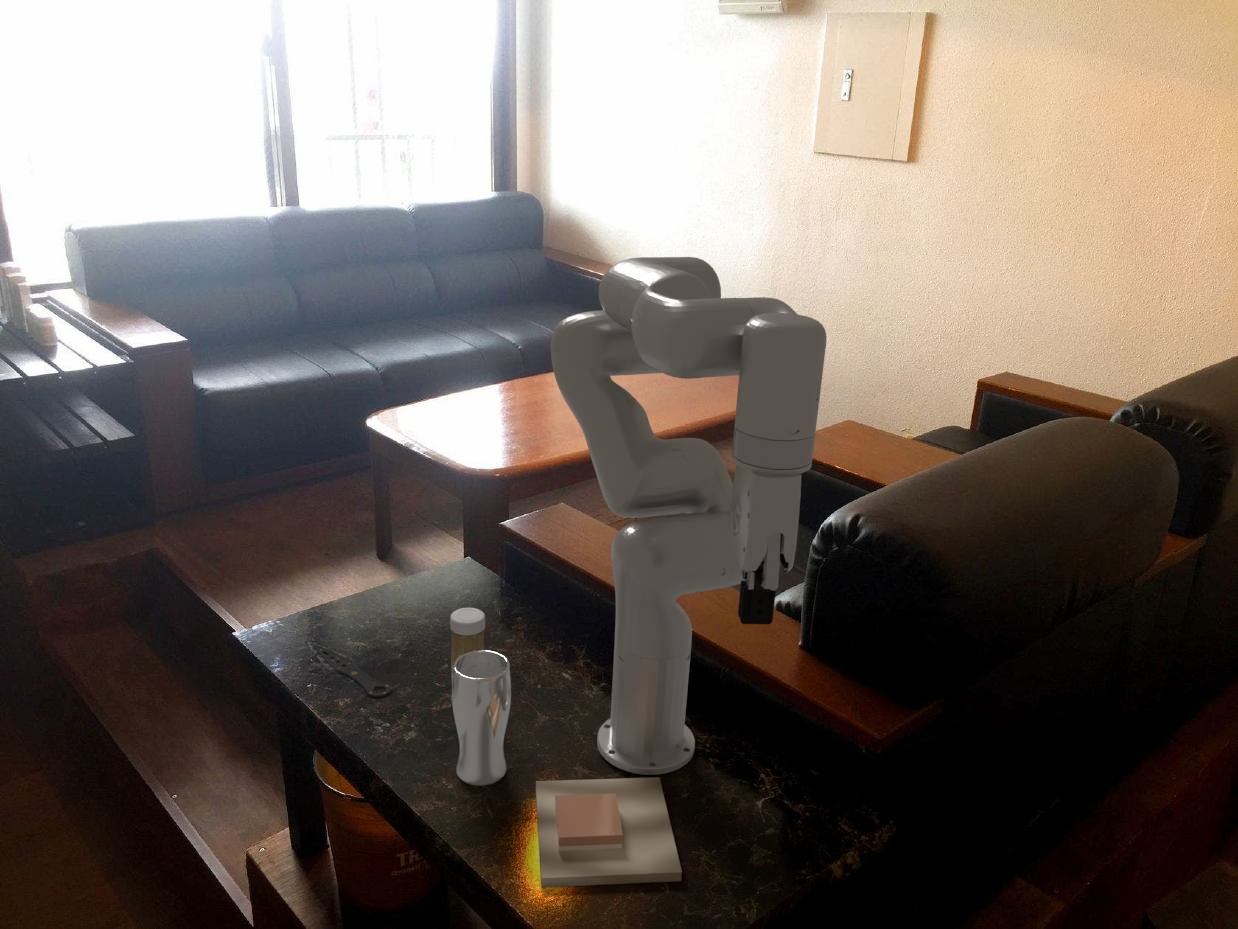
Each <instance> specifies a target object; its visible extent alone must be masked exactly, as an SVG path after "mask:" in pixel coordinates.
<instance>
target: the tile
mask: <svg viewBox="0 0 1238 929" xmlns="http://www.w3.org/2000/svg"><path fill="white" fill-rule="evenodd" d="M555 817H556V829H557V841H558V851H568V850H593V849H618V848H622V841H623V833H622V827H621V821H620V815H619V810H618V804H617V798H616V794H586V795H556V796H555Z"/></svg>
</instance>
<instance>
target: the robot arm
mask: <svg viewBox="0 0 1238 929" xmlns="http://www.w3.org/2000/svg"><path fill="white" fill-rule="evenodd" d="M598 285H599V286H598V300H599V303H600V305H601V308H602V310H591V311H584V312H579V313H576V314H573V315H570V316H569V315H568V316H567V317H565V318H564V319H562V320H560V322H558V324H556V326H555V328H554V330H553V332H552V335H551V340H550V341H551V342H550V356H551V357H550V359H551V365H552V370H553V373H554V374H553V375H554V378H555V381H556V384H557V386H558V389H559V391H560V394H561V395H562V397H563V399H564V401H565V403H566V405H567V406H568V408H569V410H570V411H571V413H572V414H573V416H574V417H575V419H576V420H577V423H578V425H579V426H580V428H581V429H582V433H583V436H584V438H585V441H586V442H585V443H586V445H587V448H588V452H589V455H590V458H591V461H592V465H593V468H594V470H595V474H596V477H597V481H598V484H599V487H600V490H601V493H602V497H603V498H604V500H605V502H606V505H607V507H608V509H609V510H610V511H611V512H612V513H613V514H614V515H616V516H618V517H620V518H624V519H625V518H626V519H635V518H645V519H640V520H636V521H633V522H631V523H629V524H626V525H625V526H623V527H621V528H620V530H618V532H617V533H616V534H615V536H614V537H613V540H612V543H611V547H610V548H611V551H610V558H611V566H612V577H613V581H614V592H615V593H614V594H615V625H614V626H615V627H614V648H613V649H614V650H613V667H612V668H613V670H612V685H611V686H612V688H611V701H610V702H611V705H610V718H608V719H607V720H606V721H605V722H604V723H602V724H601V726H600V727H599V729H598V732H597V739H596V743H597V749H598V751H599V753H600V755H601V756H602V757H603V758H604V760H606V761H607V762H608V763H610V764H611V765H612V766H614V767H616V768H618V769H620V770H622V771H625V772H628V773H632V774H637V775H645V776H648V775H649V776H655V775H657V776H658V775H664V774H668V773H672V772H674V771H677V770H680V769H681V768H682V767H684V766H685V765H687V764H688V763H689V762H690V761H691V760H692V758H693V756H694V754H695V748H696V739H695V737H694V733H693V732H692V730H691V729H690V728H689V727H688V726H687V724H685V722H686V710H687V700H688V690H689V689H688V687H689V686H688V685H689V678H690V677H689V676H690V675H689V674H690V663H691V652H692V640H693V639H692V638H693V637H692V636H693V630H692V629H693V627H692V623H691V622H692V621H691V619H690V618H689V615H688V613H687V612H686V610H684V608H682V606H681V605H680V604H679V603H678V602H677V599H678V598H679V597H681V596H683V595H689V594H693V593H698V592H706V591H712V590H718V589H723V588H729V587H733V586H736V585H740V588H739V598H738V608H737V615H738V617H739V620H740V623H741V624H743V625H772V623H773V621H774V620H773V618H774V611H775V610H774V609H775V602H776V593H777V590H778V588H779V580H780V579H779V578H780V576H779V575H780V567H781V569H782V571H783V573H785V574H787V573H789V572H790V571H791V570H792V569H793V567H794V562H795V558H796V550H797V543H798V542H797V541H798V532H799V522H800V521H799V519H800V510H801V509H800V508H801V507H800V505H801V496H802V492H801V489H802V474H803V473H805V472H808V471H809V470H811V468H812V467H813V466H812V465H813V464H812V463H813V457H814V448H815V442H816V431H817V430H816V429H817V422H818V414H819V407H820V406H819V405H820V398H821V390H822V382H823V381H822V380H823V374H824V365H825V358H826V347H827V332H826V329H825V327H824V325H823V324H822V323H821V322H820V321H818V319H815V318H813V317H810V316H807V315H806V316H805V315H802V314H798V313H797V312H796V311H795V310H794V309H793V308H792V307H791V306H790V305H788V304H787V303H786V302H785V301H783V300H780V299H777V298H774V297H763V296H762V297H722V289H721V282H720V280H719V276H718V274H717V273H716V271H715V269H714V268H713V267H712V266H711V265H710V263H708V262H707V261H705V260H704V259H701V258H698V257H693V256H668V257H667V256H664V257H663V256H660V257H659V256H658V257H657V256H656V257H655V256H654V257H653V256H650V257H647V256H646V257H643V256H642V257H631V258H627V259H623V260H620V261H618V262H616V263H614V264H613V265H612V266H610V267H609V268H608V270H606V272H605V273H604V274H603V275H602V278H601V279H600V283H599V284H598ZM651 374H664V375H667V376H668V377H673V378H676V379H677V378H678V379H689V380H692V379H701V378H702V379H703V378H719V377H734V376H735V377H736V376H738V383H737V384H738V385H737V394H736V407H735V417H734V428H733V440H732V449H731V451H732V452H731V460H732V462H733V463H734V464H735V465H736V467H735V472H734V477H733V478H734V479H733V482H732V479H731V477H730V474H729V471H728V468H727V467H726V464H725V462H724V459H723V458H722V456H721V454H720V453H719V451H718V450H717V449H716V448H715V446H713V445H712V444H711V443H709V441H706V440H704V439H702V438H696V437H681V438H680V437H679V438H668V439H663V438H660V437H657V436H656V435H655V433H654V431H653V429H652V426H651V424H650V421H649V417H648V415H647V414H648V413H647V412H646V411H645V409H644V407H643V406H642V404H641V403H640V401H638V399H637V398H635V397H634V395H632V394H631V393H630V392H629V390H626V389H625V388H624V387H622V386H621V385H619V384H618V383H616V382H615V381H614V380H613V379H612V377H616V376H632V375H633V376H634V375H637V376H638V375H651ZM648 517H649V518H648Z"/></svg>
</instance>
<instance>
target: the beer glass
mask: <svg viewBox="0 0 1238 929" xmlns="http://www.w3.org/2000/svg"><path fill="white" fill-rule="evenodd" d="M510 664H511V663H510V661H509V659H508V658H507V657H506V656H505V655H504V654H501V653H500V652H496V651H493V650H486V649H484V650H479V651H472V652H468V653H465V654H463V655H461V656H460V657H459V658H457V659H456V661H455V663H454V673H453V685H452V684H451V697H452V702H451V703H452V711H453V717H454V723H455V727H456V731H457V736H458V741H459V742H458V743H459V754H458V760H457V764H456V770H455V772H456V775H457V777H458V778H459V779H460V780H461V781H462V782H463V783H465V784H468V785H472V786H479V787H480V786H481V787H482V786H489V785H492V784H495V783H496V782H498V781H500V780H502V778H504V777H505V774H506V772H507V763H506V758H505V754H504V752H505V751H504V740H505V734H506V732H507V731H506V730H507V725H508V720H509V718H510V717H509V716H510V712H511V711H510V710H511V703H512V701H511V700H512V699H511V698H512V685H511V684H512V683H511V682H512V680H511V672H510V671H511V668H510V666H511V665H510Z"/></svg>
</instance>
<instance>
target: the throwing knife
mask: <svg viewBox="0 0 1238 929" xmlns="http://www.w3.org/2000/svg"><path fill="white" fill-rule="evenodd" d="M305 642H306V643H307V645H308V647H309V649H310V651H311V652H312V653H313V655H314V656H315V657H316V658H317V660H318V661H320V663H321V664H322V665H323V666H324V667H325V668H326V669H327V670H328V671H329V672H330V673H331V674H332V673H333V674H341V675H343V676H345V677H346V676H347V677H348V678H349V679H351V680H353V681H354V682H355V683H357V684H358V685H359V686H360V687H361V688H362V689H363V690H364V691H365V693H366V695H367V696H368V697H370V698H374V699H375V698H376V699H379V698H383V697H386V696H388V695H390V694H391V693H392V692H393V686H392V685H391V684H390V683H388V682H386V681H385V682H384V681H382V680H379V679H376V678H373V677H371V676H370V675H369V674H367V673H365V672H364V671H363V670H361V669H360V668H359V667H358V661H357V660H355V659H353V658H351V657H349V656H346V655H344V654H342V653H340V652H338V651H335V650H333V649H330V648H327V647H325V646H323V645H319V644H316V643H314V642H310V641H307V640H306V641H305ZM378 688H380V689H381V688H383V689H385V690H383V691H382V692H378V693H377V692H374V690H375V689H378Z"/></svg>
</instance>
